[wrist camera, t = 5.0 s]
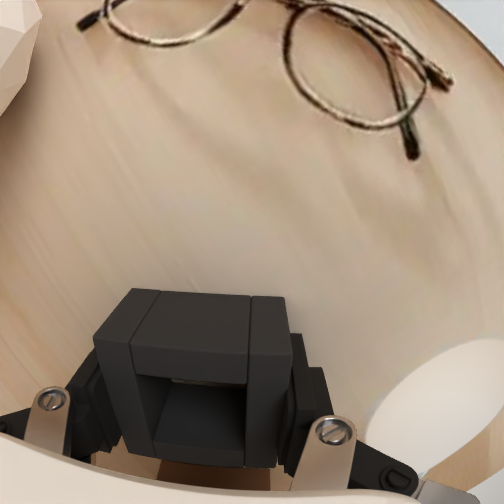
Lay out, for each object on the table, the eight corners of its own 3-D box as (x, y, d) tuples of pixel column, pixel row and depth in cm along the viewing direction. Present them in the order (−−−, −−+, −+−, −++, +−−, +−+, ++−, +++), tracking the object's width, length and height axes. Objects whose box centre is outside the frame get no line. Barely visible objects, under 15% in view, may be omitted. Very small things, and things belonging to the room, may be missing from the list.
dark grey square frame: (284, 295, 11) (293, 353, 8) (273, 407, 13) (275, 469, 9) (131, 287, 11) (91, 336, 8) (150, 397, 13) (128, 453, 10)
